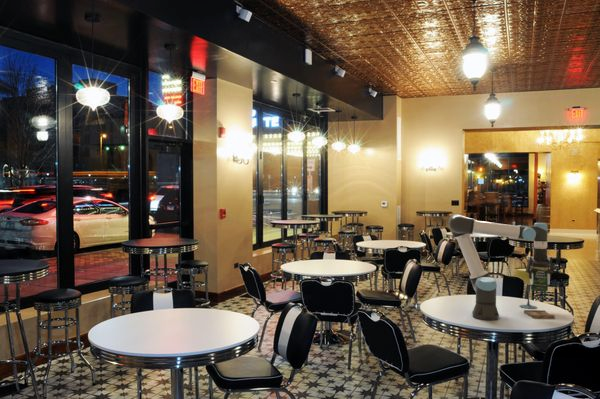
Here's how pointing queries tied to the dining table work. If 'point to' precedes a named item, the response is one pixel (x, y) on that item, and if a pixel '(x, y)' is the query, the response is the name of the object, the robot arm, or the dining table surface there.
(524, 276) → the cocktail glass
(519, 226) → the robot arm
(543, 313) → the walnut board
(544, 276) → the coffee jar
